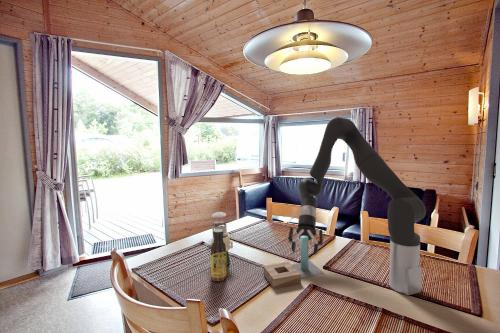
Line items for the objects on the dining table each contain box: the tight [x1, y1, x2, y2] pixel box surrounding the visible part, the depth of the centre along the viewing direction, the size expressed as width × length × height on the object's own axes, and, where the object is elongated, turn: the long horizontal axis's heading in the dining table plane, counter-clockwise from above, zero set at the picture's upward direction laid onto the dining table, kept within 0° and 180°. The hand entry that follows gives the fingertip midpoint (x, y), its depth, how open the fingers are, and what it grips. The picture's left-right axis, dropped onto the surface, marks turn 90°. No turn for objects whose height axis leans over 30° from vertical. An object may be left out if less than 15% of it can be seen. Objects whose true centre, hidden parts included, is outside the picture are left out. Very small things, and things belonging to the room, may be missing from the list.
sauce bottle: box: [210, 229, 227, 282], centre depth 108 cm, size 7×6×20 cm
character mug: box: [211, 233, 234, 266], centre depth 121 cm, size 11×7×13 cm, turn 63°
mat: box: [291, 260, 326, 280], centre depth 114 cm, size 12×12×1 cm
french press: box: [208, 194, 228, 241], centre depth 151 cm, size 10×12×25 cm
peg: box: [299, 236, 309, 271], centre depth 113 cm, size 3×3×14 cm
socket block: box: [262, 261, 302, 290], centre depth 107 cm, size 11×11×4 cm
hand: (304, 253), depth 112 cm, fingers open, 8 cm apart
